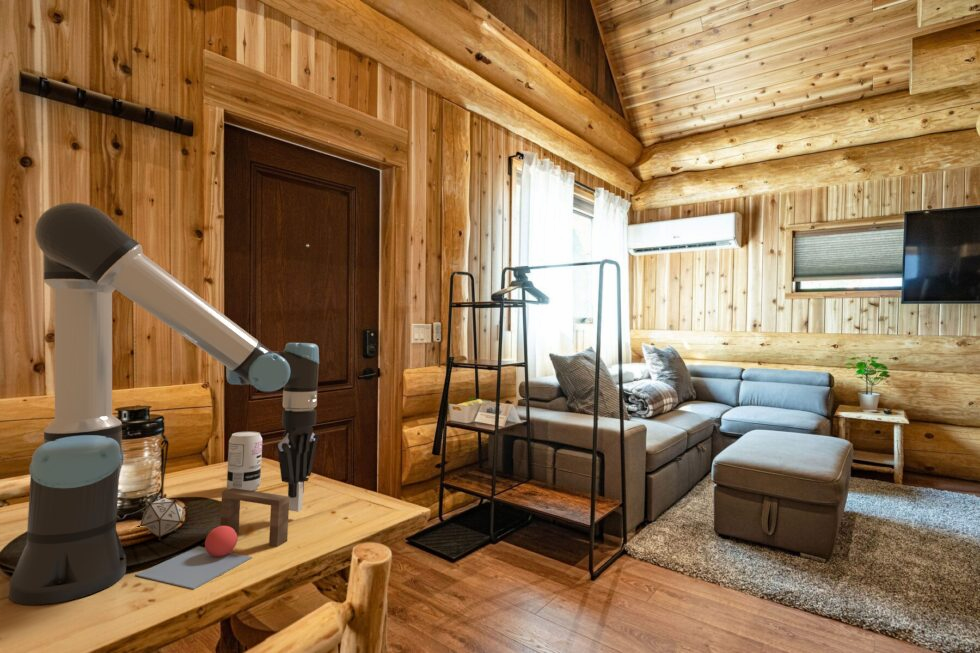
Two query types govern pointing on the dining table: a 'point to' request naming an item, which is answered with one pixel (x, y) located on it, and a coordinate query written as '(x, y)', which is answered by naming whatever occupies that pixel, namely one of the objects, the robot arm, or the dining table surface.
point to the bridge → (277, 502)
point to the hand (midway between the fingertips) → (295, 509)
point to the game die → (162, 516)
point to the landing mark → (193, 568)
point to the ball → (221, 541)
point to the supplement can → (244, 461)
